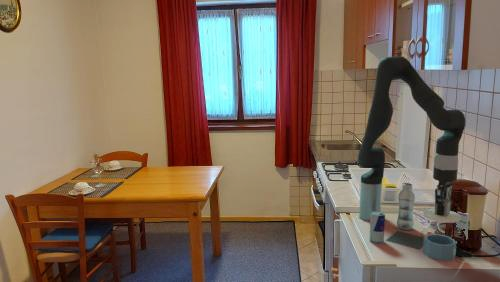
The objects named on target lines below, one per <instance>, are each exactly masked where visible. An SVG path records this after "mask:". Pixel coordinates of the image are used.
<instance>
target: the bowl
mask: <svg viewBox="0 0 500 282" xmlns="http://www.w3.org/2000/svg"><path fill="white" fill-rule="evenodd" d="M423 237H424V241H423V247H422V253H423V254H424V255H425V256H427V257H428V258H430V259H433V260H438V261H440V262H441V261H442V262H446V261H447V262H448V261H449V262H450V261H454V259H455V258H456V256H457V255H456V253H457V246H456V244H457V241H455V240H454V239H452V237H451V236H447V235H443V234H439V233H431V234H429V233H428V234H425V236H423Z"/></svg>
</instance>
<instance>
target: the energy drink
mask: <svg viewBox="0 0 500 282" xmlns="http://www.w3.org/2000/svg"><path fill="white" fill-rule="evenodd" d="M385 221H386V214H385V213H384V212H383V211H381V210H380V211H373V212H371V219H370V221H369V223H370V224H369V239H368V240H369V243H371V244H372V245H383V244H384V242H385V228H386V227H385V226H386V224H385V223H386V222H385Z"/></svg>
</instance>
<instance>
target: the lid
mask: <svg viewBox="0 0 500 282" xmlns="http://www.w3.org/2000/svg"><path fill="white" fill-rule="evenodd" d="M439 201H441V200H440V199H439ZM423 216H424V217H425V218H426V219H428V220H431V221H434V222H438V223H447V224H453V223H455V222H459V221H460V220H461V216H460V215H459V214H458V213H456V212H454V210H453V211H452V210H451V200H450V199H449V200H445V207H444V215H443V216H441V215H437V204H435V205H434V208H428V209H424V210H423Z"/></svg>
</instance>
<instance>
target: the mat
mask: <svg viewBox="0 0 500 282" xmlns="http://www.w3.org/2000/svg"><path fill="white" fill-rule="evenodd" d="M424 237H425V236H420V235H417V234H412V233H408V232H406V231H405V232H404V231H400V230H396V231H395V232H394V233H393V234H392V235H390V236H389V237H388V238H386V239H385V241H386V242H390V243H393V244H397V245H400V246H404V247H408V248H412V249H416V250H421V249H423V241H424Z"/></svg>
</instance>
